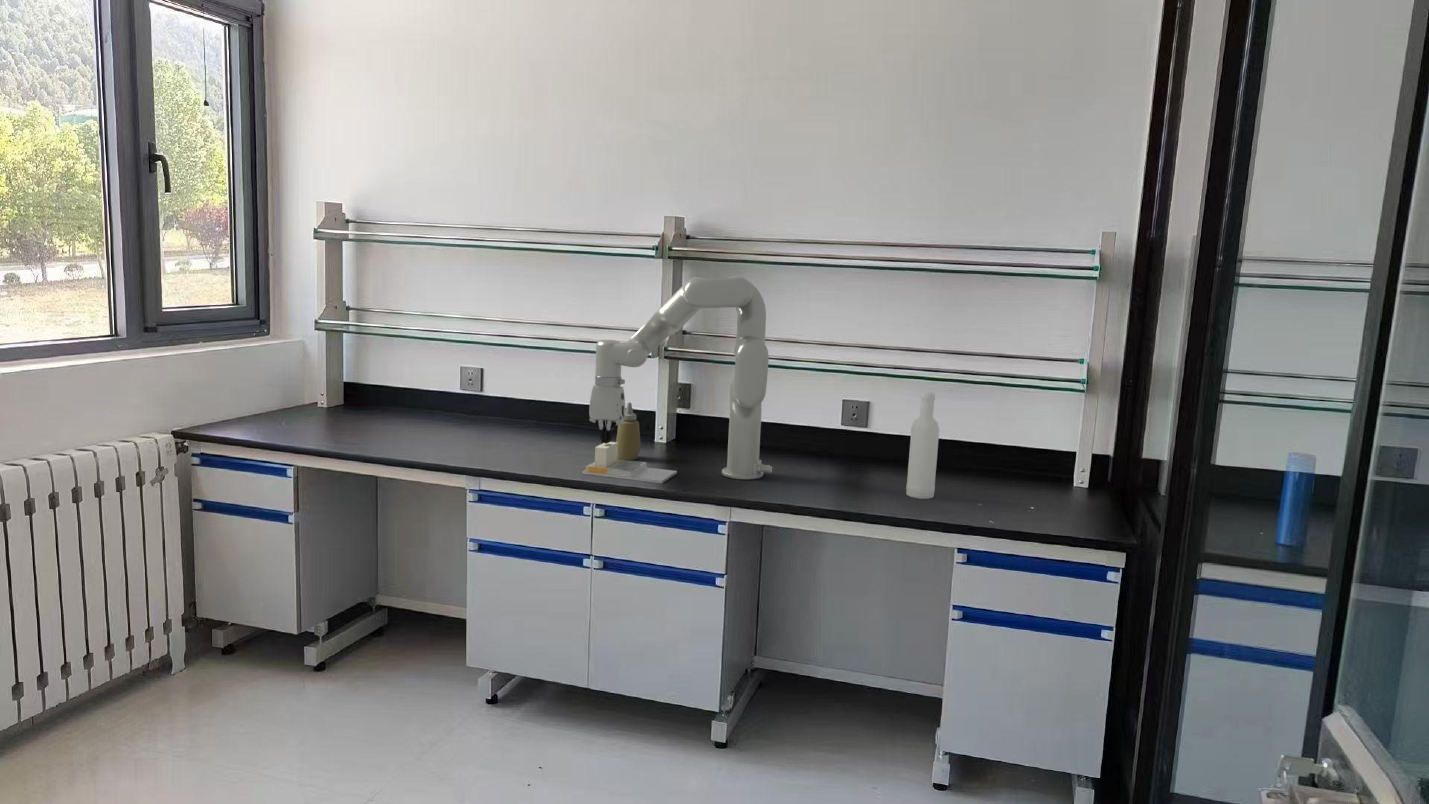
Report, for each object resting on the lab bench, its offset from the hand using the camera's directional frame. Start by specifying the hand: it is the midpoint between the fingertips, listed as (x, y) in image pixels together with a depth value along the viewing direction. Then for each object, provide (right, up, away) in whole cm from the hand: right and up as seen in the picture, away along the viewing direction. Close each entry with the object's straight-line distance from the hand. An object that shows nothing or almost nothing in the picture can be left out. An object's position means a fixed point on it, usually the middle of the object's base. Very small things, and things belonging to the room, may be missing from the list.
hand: (605, 442), depth 286 cm
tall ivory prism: (0, -8, +1) cm, 8 cm away
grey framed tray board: (+7, -9, -1) cm, 12 cm away
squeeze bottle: (+5, -6, +19) cm, 20 cm away
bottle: (+92, -15, -11) cm, 94 cm away
